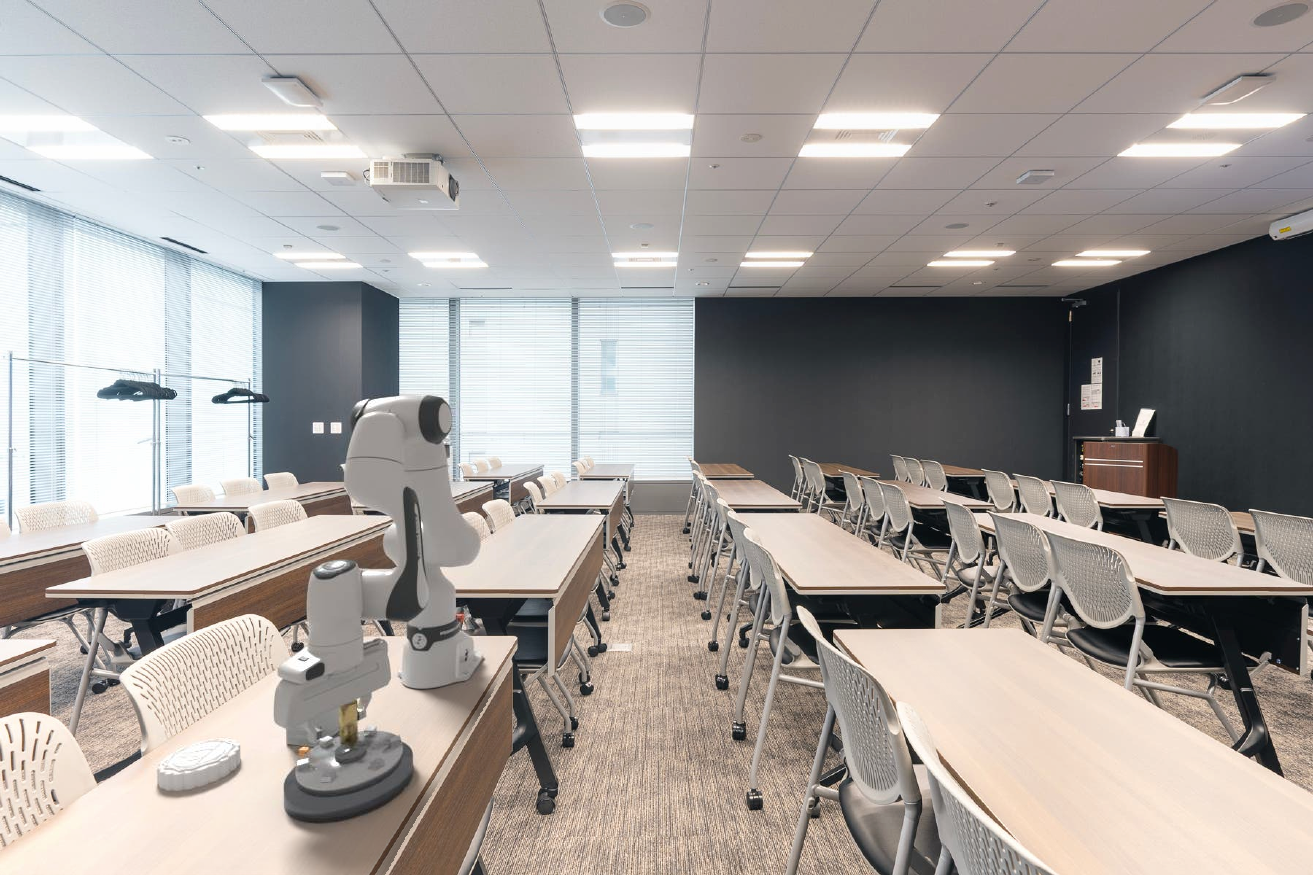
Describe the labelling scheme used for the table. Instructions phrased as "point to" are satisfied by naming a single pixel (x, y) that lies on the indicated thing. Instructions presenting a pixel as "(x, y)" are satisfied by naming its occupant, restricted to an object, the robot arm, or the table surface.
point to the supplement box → (323, 722)
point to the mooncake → (198, 764)
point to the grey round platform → (346, 795)
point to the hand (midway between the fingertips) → (337, 729)
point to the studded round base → (348, 758)
